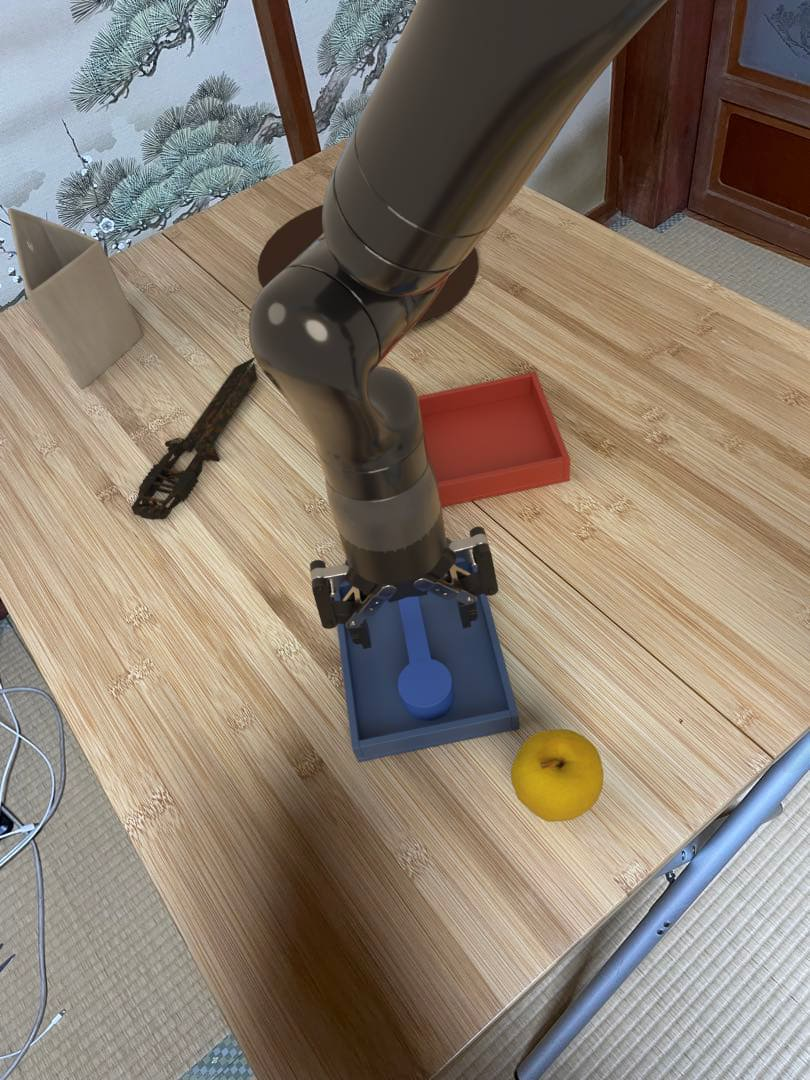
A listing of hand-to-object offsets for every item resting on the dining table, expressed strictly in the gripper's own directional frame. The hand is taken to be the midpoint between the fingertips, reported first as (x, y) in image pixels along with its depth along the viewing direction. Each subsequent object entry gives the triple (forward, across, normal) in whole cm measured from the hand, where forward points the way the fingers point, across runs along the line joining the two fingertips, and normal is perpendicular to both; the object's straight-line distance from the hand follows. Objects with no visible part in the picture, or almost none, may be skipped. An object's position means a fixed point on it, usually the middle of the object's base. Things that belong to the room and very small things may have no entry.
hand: (415, 629), depth 71 cm
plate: (+3, +3, +56) cm, 57 cm away
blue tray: (+3, 0, -2) cm, 3 cm away
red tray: (+3, +10, +22) cm, 24 cm away
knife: (+3, -19, +32) cm, 38 cm away
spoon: (+2, 0, -2) cm, 3 cm away
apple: (+3, +8, -16) cm, 18 cm away
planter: (+3, -31, +54) cm, 62 cm away
